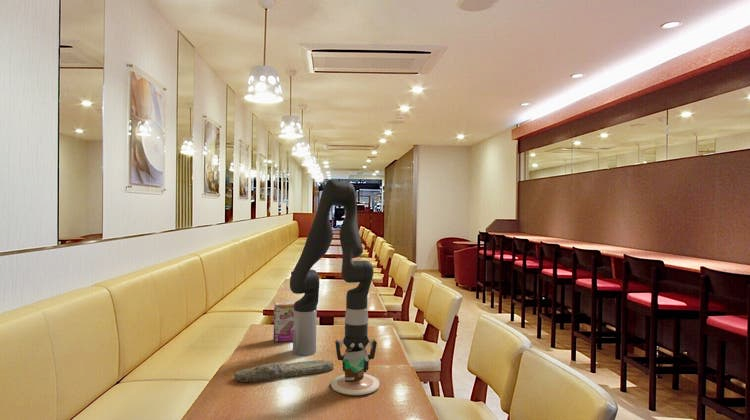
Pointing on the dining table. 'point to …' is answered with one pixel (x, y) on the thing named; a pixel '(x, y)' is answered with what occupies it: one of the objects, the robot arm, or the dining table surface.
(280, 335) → the candy bar box
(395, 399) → the dining table surface
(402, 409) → the dining table surface
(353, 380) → the food container
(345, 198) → the robot arm
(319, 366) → the elongated rock
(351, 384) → the dish
